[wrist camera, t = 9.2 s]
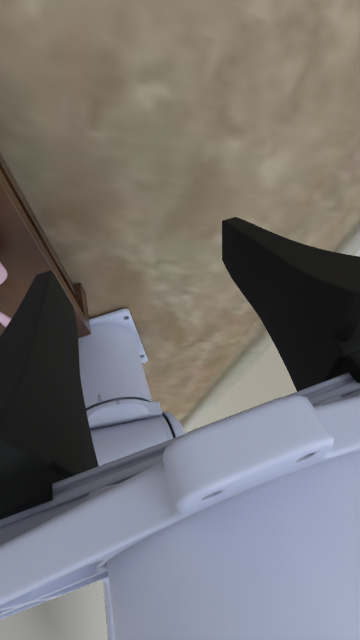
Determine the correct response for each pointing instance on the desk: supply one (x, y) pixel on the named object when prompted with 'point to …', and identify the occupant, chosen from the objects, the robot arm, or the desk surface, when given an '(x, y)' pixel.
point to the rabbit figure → (0, 277)
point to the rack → (29, 254)
